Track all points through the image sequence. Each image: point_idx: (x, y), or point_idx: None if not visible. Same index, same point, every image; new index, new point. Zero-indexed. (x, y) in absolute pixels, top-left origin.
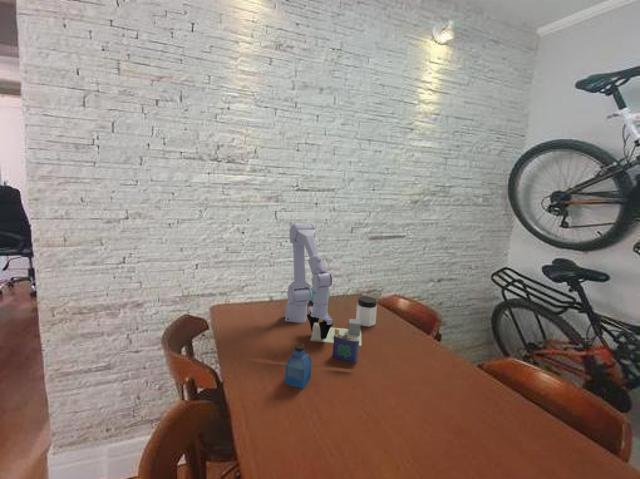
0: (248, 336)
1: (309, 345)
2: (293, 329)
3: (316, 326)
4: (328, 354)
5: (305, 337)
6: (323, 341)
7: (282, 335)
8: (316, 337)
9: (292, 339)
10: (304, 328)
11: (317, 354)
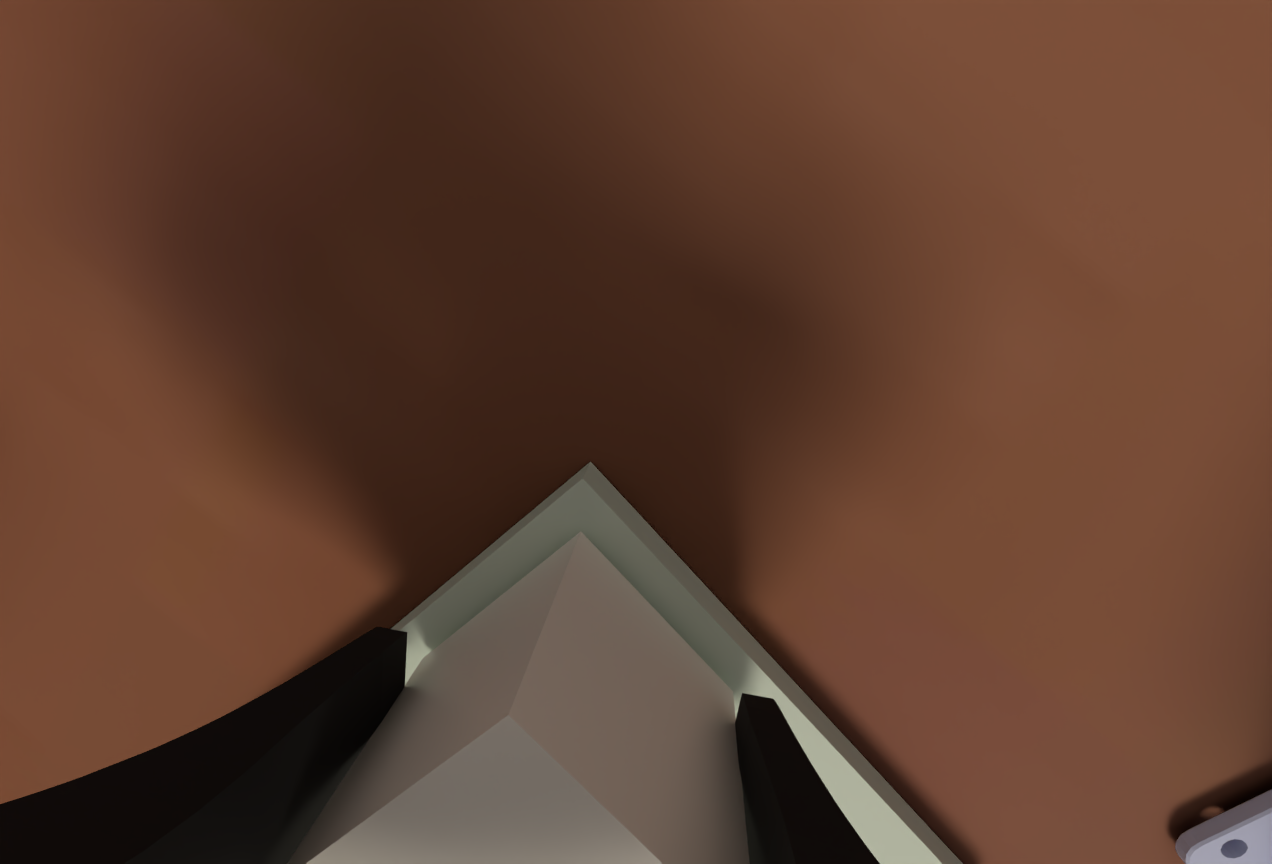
0: None
1: (515, 388)
2: (1252, 577)
3: (483, 822)
4: (101, 436)
5: (811, 535)
6: (414, 636)
7: (1244, 203)
8: (504, 604)
9: (925, 273)
10: (1105, 753)
11: (173, 284)
